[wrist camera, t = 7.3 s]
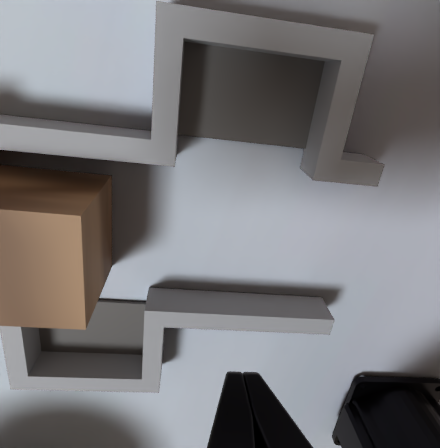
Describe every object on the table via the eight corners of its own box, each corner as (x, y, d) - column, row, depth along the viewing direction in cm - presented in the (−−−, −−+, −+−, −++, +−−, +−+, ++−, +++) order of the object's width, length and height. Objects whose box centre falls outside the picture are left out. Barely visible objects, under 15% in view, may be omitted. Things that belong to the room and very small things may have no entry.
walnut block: (111, 174, 16) (80, 215, 12) (112, 265, 18) (85, 329, 14) (0, 163, 16) (-78, 202, 11) (13, 258, 18) (-49, 323, 13)
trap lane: (395, 45, 15) (441, 39, 12) (300, 369, 22) (315, 410, 20) (-58, -23, 13) (-126, -48, 10) (8, 360, 20) (-20, 405, 18)
